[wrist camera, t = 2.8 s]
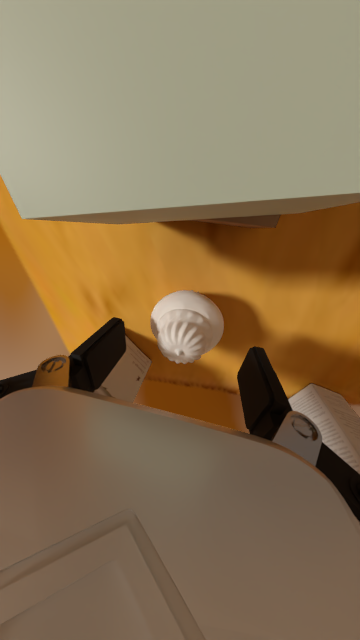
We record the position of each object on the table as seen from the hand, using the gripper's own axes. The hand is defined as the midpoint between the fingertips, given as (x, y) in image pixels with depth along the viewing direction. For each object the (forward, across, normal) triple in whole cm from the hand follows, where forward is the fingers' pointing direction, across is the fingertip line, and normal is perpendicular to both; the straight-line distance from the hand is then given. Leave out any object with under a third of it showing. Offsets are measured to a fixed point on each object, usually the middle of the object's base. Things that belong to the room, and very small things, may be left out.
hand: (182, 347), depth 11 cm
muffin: (+6, 0, -1) cm, 6 cm away
